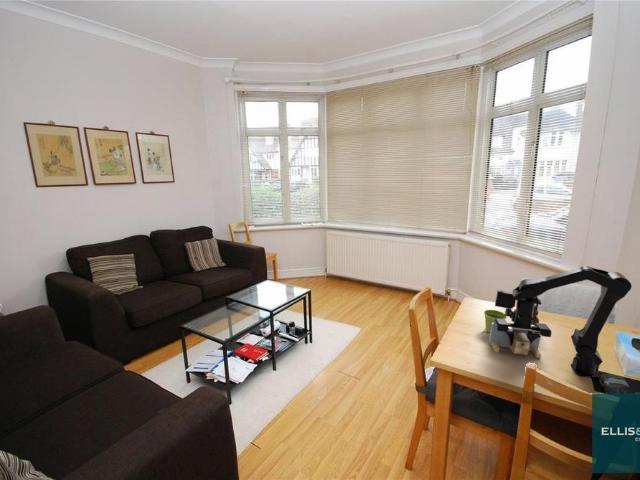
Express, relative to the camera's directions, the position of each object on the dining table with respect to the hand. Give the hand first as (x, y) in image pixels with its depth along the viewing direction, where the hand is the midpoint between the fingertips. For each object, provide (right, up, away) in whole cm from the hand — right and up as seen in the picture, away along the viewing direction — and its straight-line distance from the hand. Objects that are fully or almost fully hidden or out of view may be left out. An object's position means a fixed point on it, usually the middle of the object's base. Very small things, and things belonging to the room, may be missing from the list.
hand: (518, 345), depth 124 cm
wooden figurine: (+17, +1, +18) cm, 25 cm away
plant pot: (0, 0, +18) cm, 18 cm away
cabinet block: (0, -1, 0) cm, 2 cm away
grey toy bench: (+1, -3, +4) cm, 5 cm away
